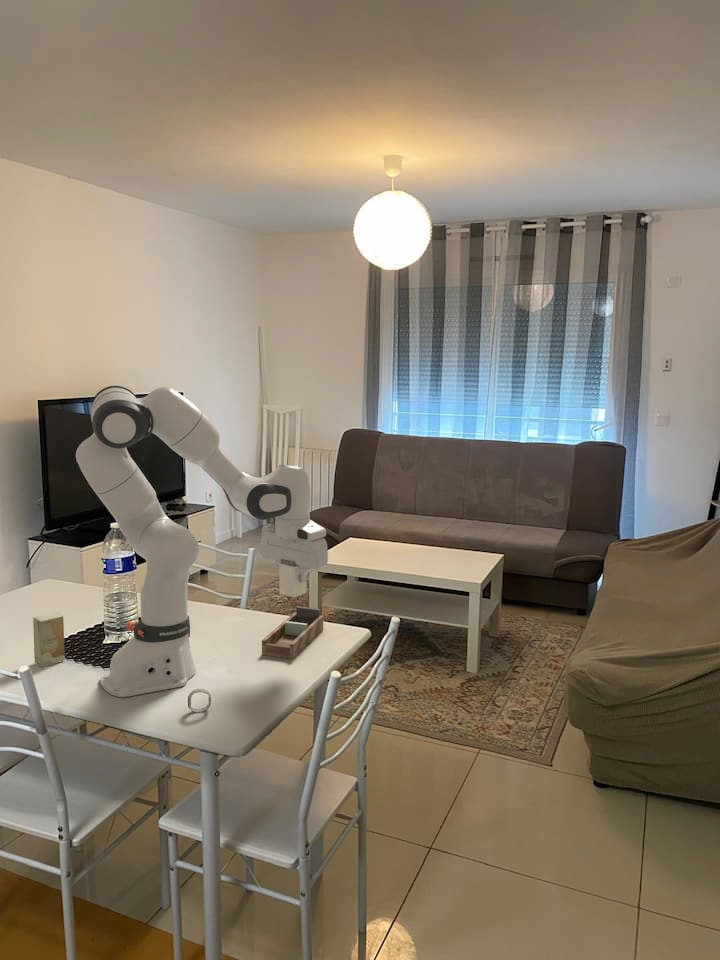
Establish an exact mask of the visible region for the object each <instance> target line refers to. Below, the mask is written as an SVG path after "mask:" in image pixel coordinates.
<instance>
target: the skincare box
mask: <svg viewBox="0 0 720 960" xmlns="http://www.w3.org/2000/svg"><path fill="white" fill-rule="evenodd" d="M32 620H33V621H32V622H33V623H32V624H33V626H32V627H33V651H34V652H33V654H34V656H33V657H34V664H36V665H37V666H38V667H40V668H45V667H47V665H48V666H51V664H52V665H55V664H58V663H57V662H59V663H61V662H60V661H63V660H65V661H66V659H65V658H66V657H65V654H66V653H65V630H64V627H65V625H64V615H62V614H61V613H58V612H56V611H55V612H52V613H47V614H42V615H38V616H33V617H32ZM63 662H64V661H63ZM54 663H55V664H54ZM44 666H45V667H44Z"/></svg>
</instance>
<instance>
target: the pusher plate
mask: <svg viewBox="0 0 720 960" xmlns="http://www.w3.org/2000/svg"><path fill="white" fill-rule="evenodd" d="M306 628H307V624H305V623H297V622H289V621H286V622H285V634H287V635H295V636H299V635H300V634H301V633H302V632H303V631H304V630H305V629H306Z"/></svg>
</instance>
